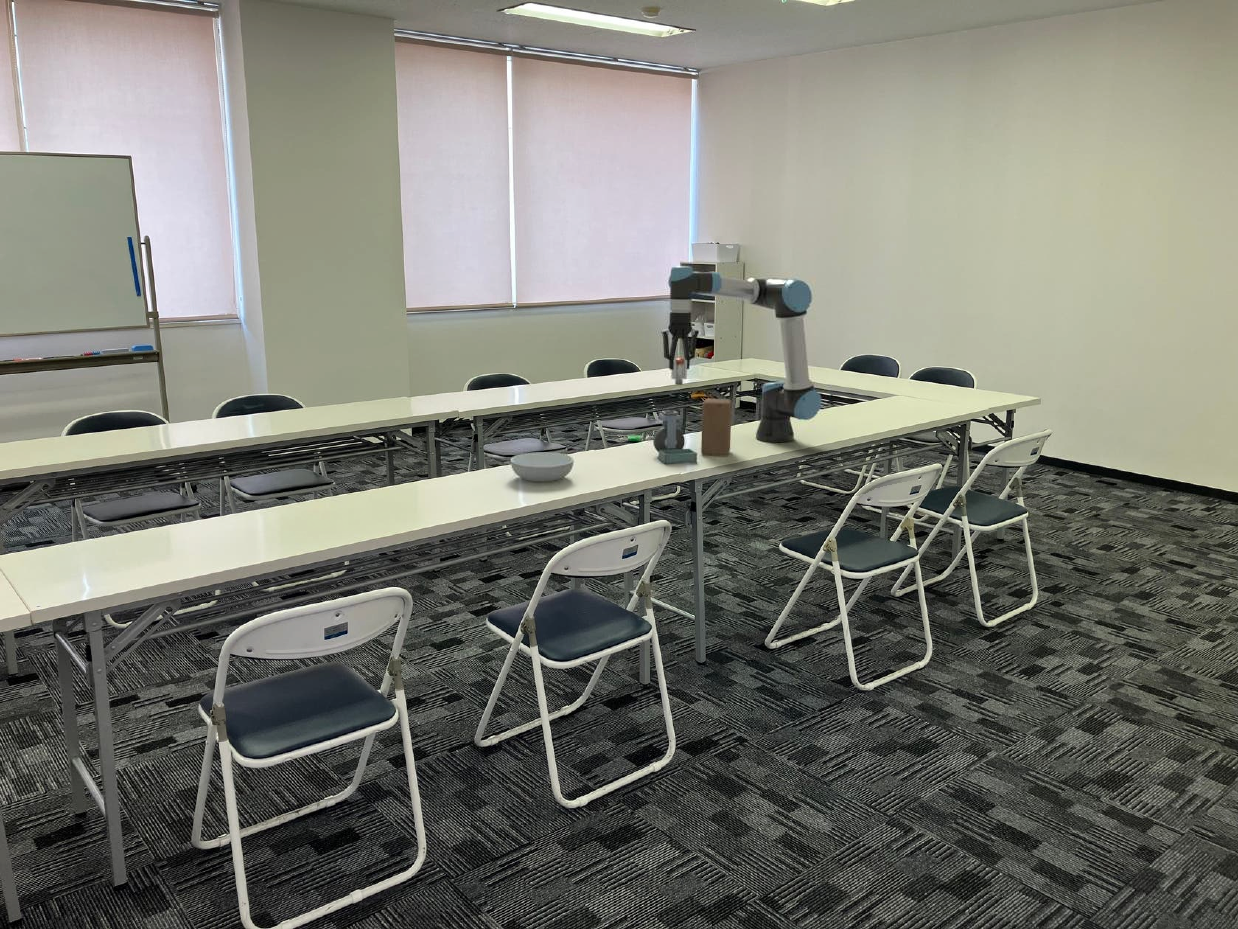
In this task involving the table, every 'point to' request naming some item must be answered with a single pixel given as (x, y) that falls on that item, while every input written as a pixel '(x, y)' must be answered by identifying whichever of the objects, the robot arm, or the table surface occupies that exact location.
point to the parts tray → (677, 456)
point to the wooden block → (716, 427)
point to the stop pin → (679, 371)
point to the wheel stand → (668, 433)
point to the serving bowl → (542, 466)
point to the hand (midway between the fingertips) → (678, 378)
